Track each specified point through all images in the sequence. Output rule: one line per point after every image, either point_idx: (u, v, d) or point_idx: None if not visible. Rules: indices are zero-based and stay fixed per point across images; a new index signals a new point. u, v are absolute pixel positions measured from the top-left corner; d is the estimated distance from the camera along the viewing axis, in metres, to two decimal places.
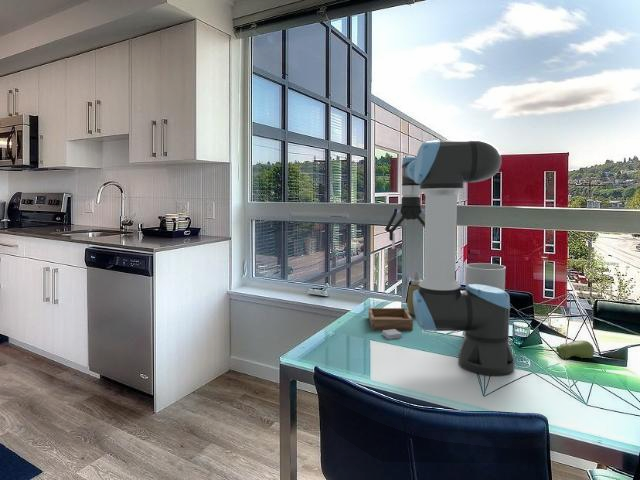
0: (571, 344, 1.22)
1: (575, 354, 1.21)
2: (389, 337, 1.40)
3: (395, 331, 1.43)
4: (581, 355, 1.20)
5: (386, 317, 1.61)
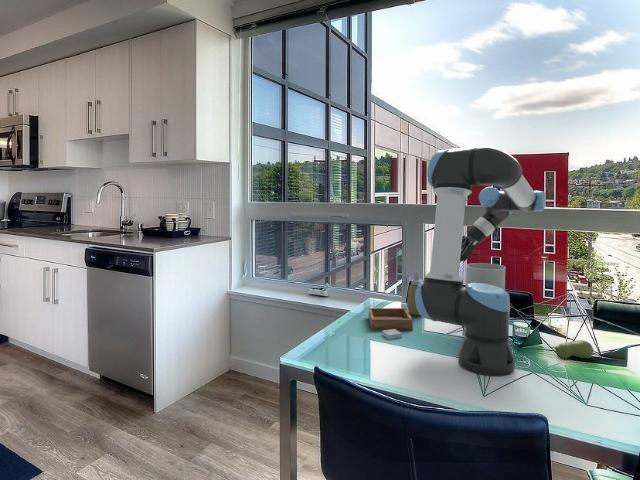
0: (570, 344, 1.22)
1: (574, 354, 1.21)
2: (389, 337, 1.40)
3: (395, 331, 1.43)
4: (580, 355, 1.20)
5: (386, 317, 1.61)
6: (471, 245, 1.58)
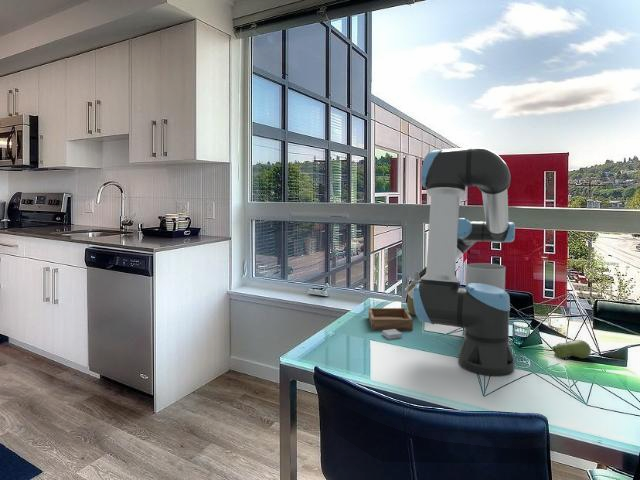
0: (568, 344, 1.22)
1: (572, 354, 1.21)
2: (389, 337, 1.40)
3: (395, 331, 1.43)
4: (578, 355, 1.20)
5: (386, 317, 1.61)
6: None
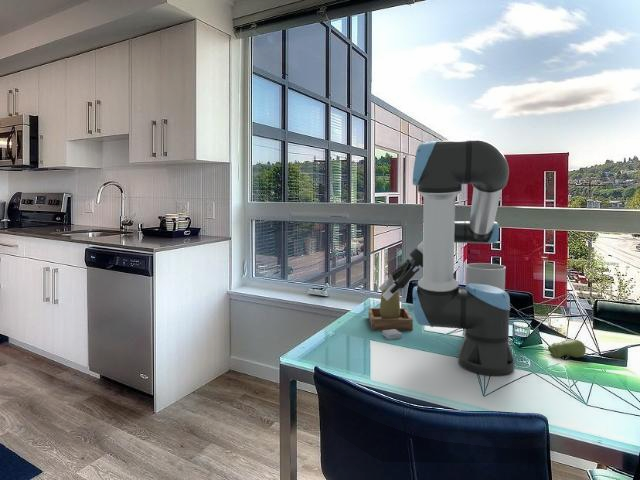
0: (563, 343, 1.23)
1: (567, 353, 1.21)
2: (389, 337, 1.40)
3: (395, 331, 1.43)
4: (573, 354, 1.21)
5: None
6: (410, 271, 1.47)
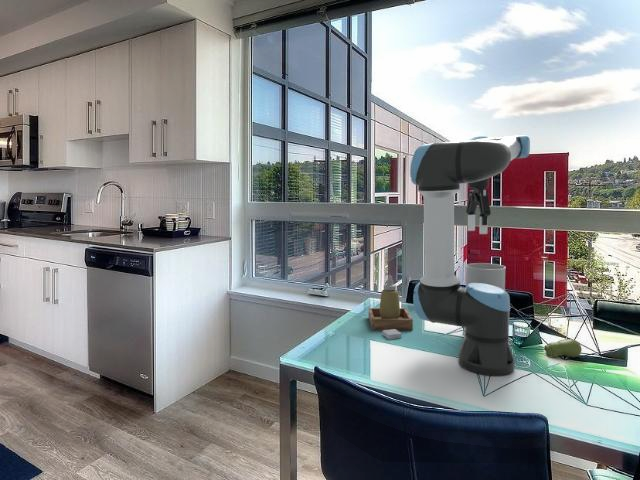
0: (559, 343, 1.23)
1: (563, 353, 1.22)
2: (389, 337, 1.40)
3: (395, 331, 1.43)
4: (569, 354, 1.21)
5: None
6: (483, 197, 1.49)
